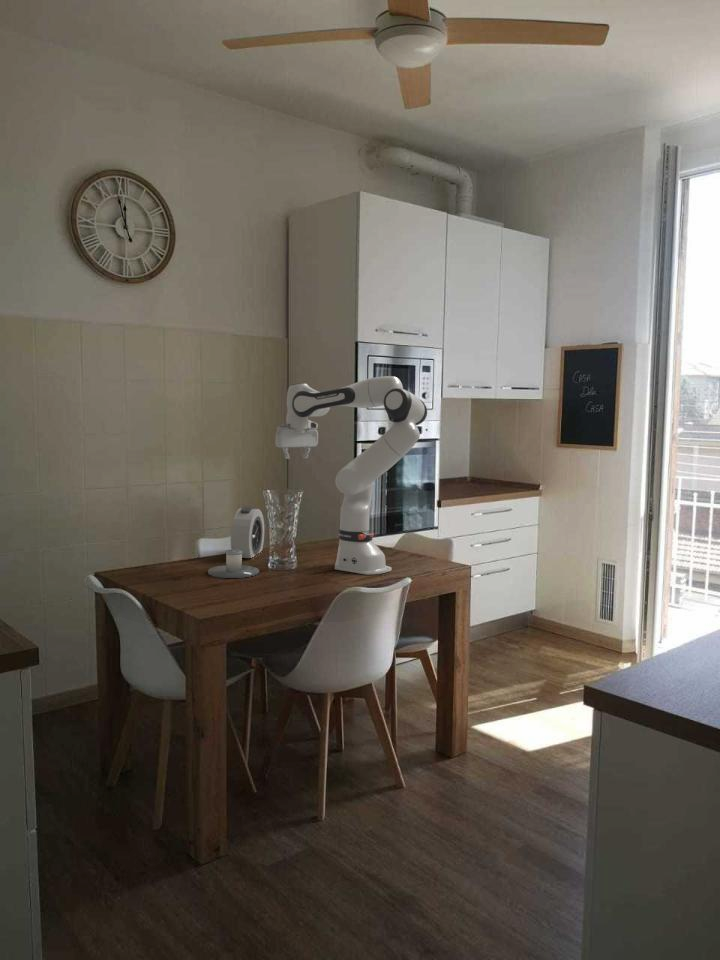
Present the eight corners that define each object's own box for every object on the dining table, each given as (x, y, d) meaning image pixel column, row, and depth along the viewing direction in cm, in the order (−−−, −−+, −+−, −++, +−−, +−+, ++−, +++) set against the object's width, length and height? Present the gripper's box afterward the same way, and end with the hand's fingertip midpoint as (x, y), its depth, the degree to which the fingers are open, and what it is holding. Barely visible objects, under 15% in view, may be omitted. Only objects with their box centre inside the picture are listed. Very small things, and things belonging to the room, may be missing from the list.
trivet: (269, 573, 275) (269, 571, 275) (227, 581, 263) (227, 578, 263) (238, 565, 288) (238, 562, 288) (198, 572, 275) (198, 569, 275)
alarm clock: (248, 561, 296) (249, 510, 294) (230, 560, 297) (230, 509, 295) (264, 551, 317) (264, 503, 315) (246, 550, 318) (247, 502, 316)
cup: (245, 570, 275) (245, 551, 275) (232, 572, 271) (232, 553, 270) (235, 567, 279) (235, 548, 279) (222, 569, 275) (222, 550, 274)
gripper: (282, 424, 298) (281, 459, 299) (321, 424, 312) (320, 458, 314) (271, 423, 302) (271, 458, 304) (310, 423, 317) (309, 457, 318)
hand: (296, 458), depth 309 cm, fingers open, 8 cm apart
